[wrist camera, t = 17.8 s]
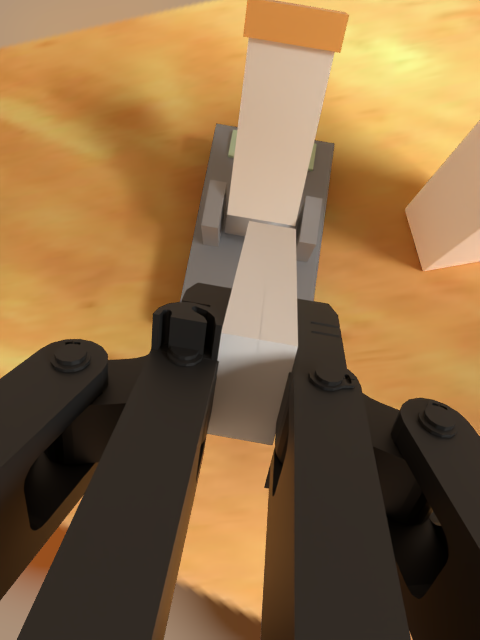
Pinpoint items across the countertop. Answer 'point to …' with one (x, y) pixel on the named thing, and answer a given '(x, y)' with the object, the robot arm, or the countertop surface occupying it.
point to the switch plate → (225, 249)
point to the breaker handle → (280, 109)
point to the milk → (449, 209)
